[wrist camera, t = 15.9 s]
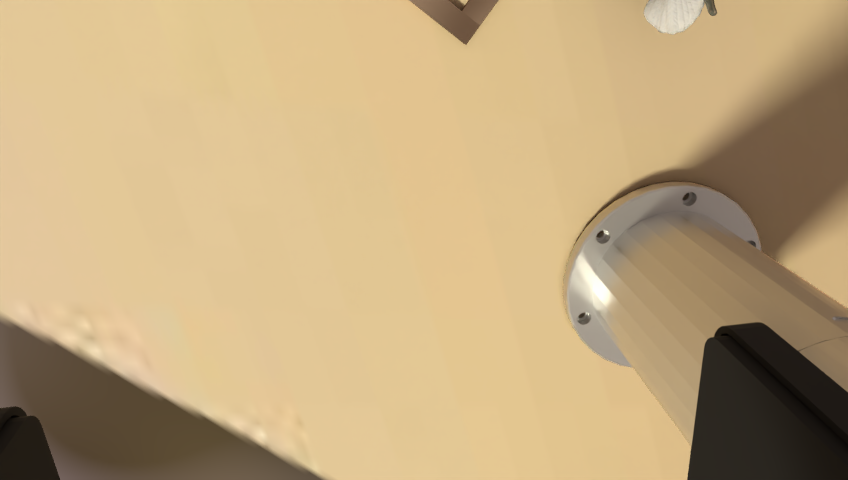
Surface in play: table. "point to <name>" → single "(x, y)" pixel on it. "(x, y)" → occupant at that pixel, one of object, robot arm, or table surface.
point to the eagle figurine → (675, 13)
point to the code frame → (457, 15)
